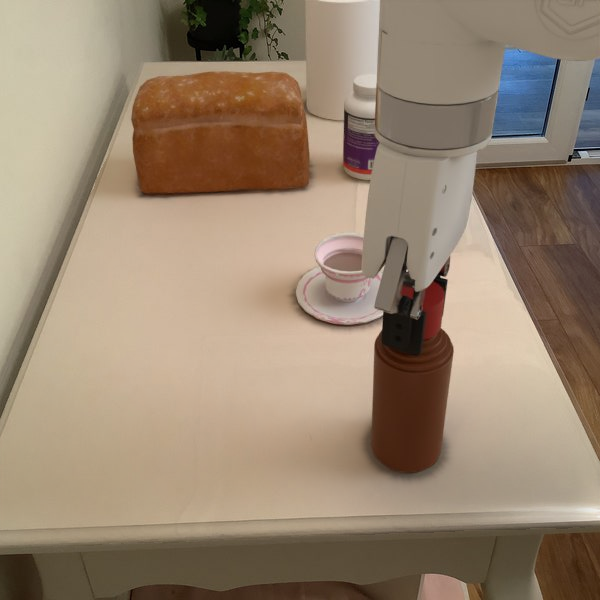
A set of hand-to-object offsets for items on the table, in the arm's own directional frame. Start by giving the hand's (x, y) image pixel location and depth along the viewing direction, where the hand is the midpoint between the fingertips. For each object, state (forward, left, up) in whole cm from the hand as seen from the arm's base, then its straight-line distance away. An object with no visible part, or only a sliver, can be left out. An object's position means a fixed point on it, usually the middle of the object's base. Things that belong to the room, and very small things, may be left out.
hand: (412, 329), depth 54 cm
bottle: (-1, 0, -14) cm, 14 cm away
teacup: (+13, -19, -14) cm, 27 cm away
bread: (+42, -40, -14) cm, 60 cm away
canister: (+36, -73, -14) cm, 83 cm away
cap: (0, 0, +1) cm, 1 cm away
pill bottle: (+22, -50, -14) cm, 56 cm away
